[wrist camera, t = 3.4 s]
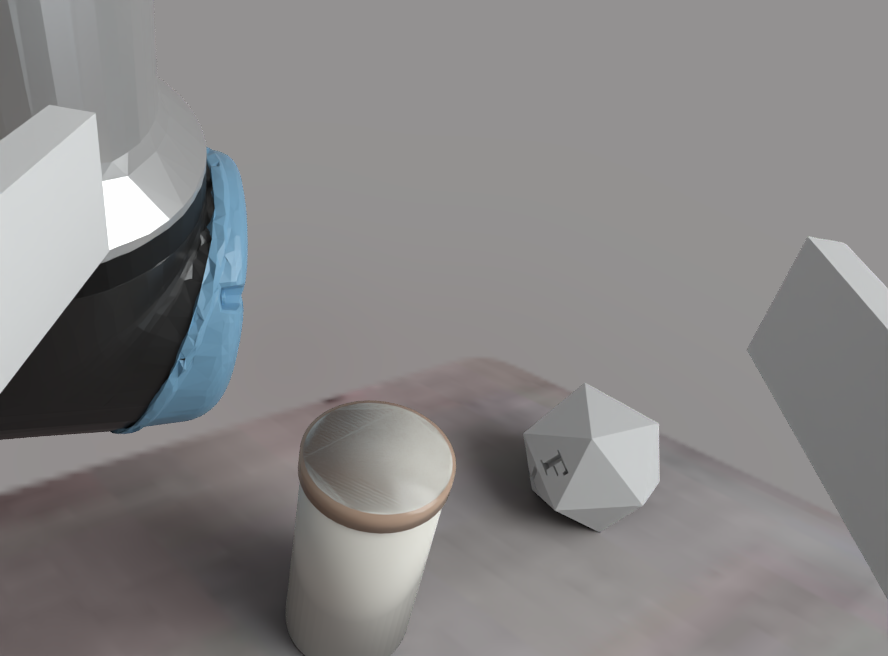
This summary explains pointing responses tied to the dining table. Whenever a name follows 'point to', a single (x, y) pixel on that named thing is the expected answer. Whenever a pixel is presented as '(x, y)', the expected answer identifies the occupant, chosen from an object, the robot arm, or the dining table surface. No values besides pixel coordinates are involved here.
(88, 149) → the robot arm
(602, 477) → the die
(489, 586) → the dining table surface
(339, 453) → the jar
